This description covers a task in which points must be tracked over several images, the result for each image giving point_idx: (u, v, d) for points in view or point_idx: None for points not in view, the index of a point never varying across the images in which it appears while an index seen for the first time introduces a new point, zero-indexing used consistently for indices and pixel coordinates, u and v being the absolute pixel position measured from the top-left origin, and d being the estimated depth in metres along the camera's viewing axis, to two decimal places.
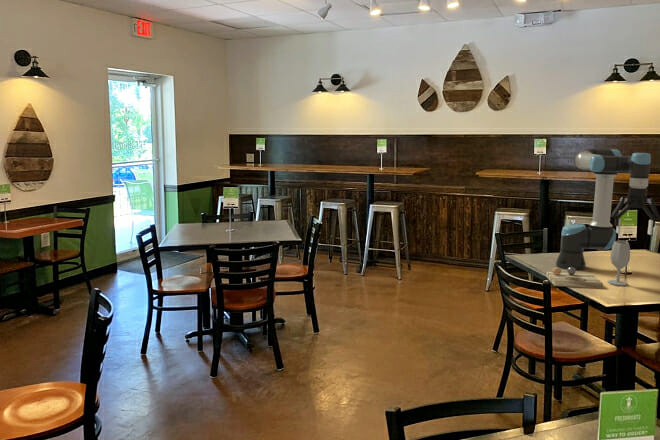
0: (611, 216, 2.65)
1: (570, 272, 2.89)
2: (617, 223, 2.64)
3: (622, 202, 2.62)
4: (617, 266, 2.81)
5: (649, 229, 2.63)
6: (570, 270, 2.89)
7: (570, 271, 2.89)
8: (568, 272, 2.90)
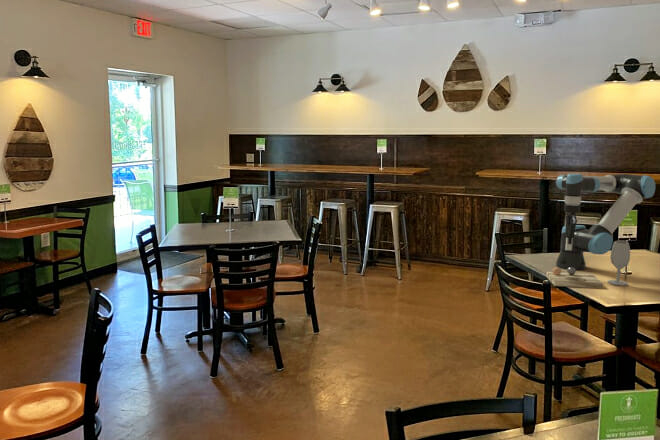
0: None
1: (570, 272, 2.89)
2: None
3: None
4: (617, 266, 2.81)
5: None
6: (570, 270, 2.89)
7: (570, 271, 2.89)
8: (568, 272, 2.90)
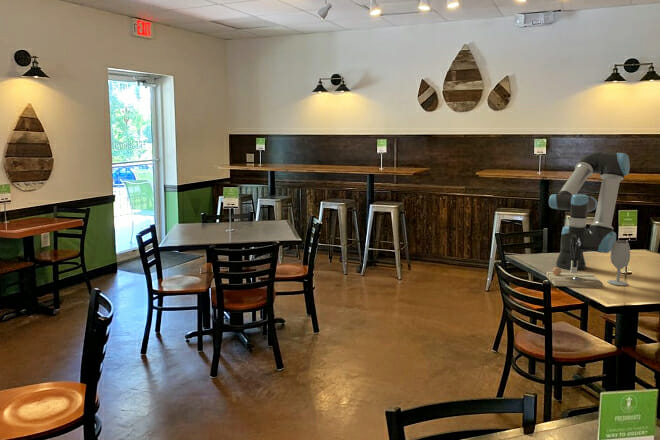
0: None
1: (575, 278, 2.81)
2: None
3: (570, 241, 2.89)
4: (617, 266, 2.81)
5: None
6: (575, 277, 2.81)
7: (575, 277, 2.81)
8: (573, 279, 2.81)
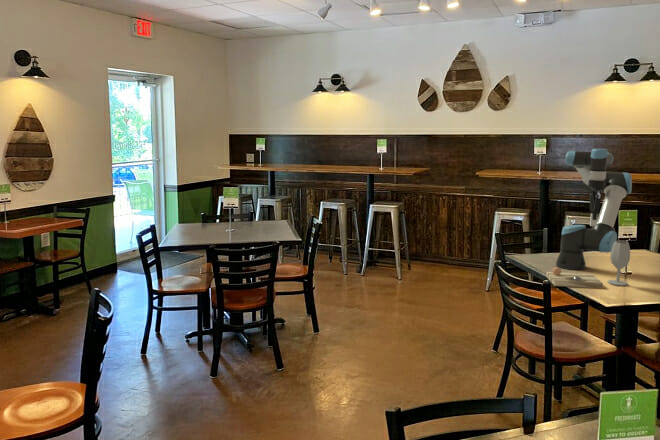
0: None
1: (576, 278, 2.81)
2: None
3: (590, 195, 2.97)
4: (617, 266, 2.81)
5: None
6: (576, 276, 2.82)
7: (576, 277, 2.81)
8: (574, 279, 2.81)
